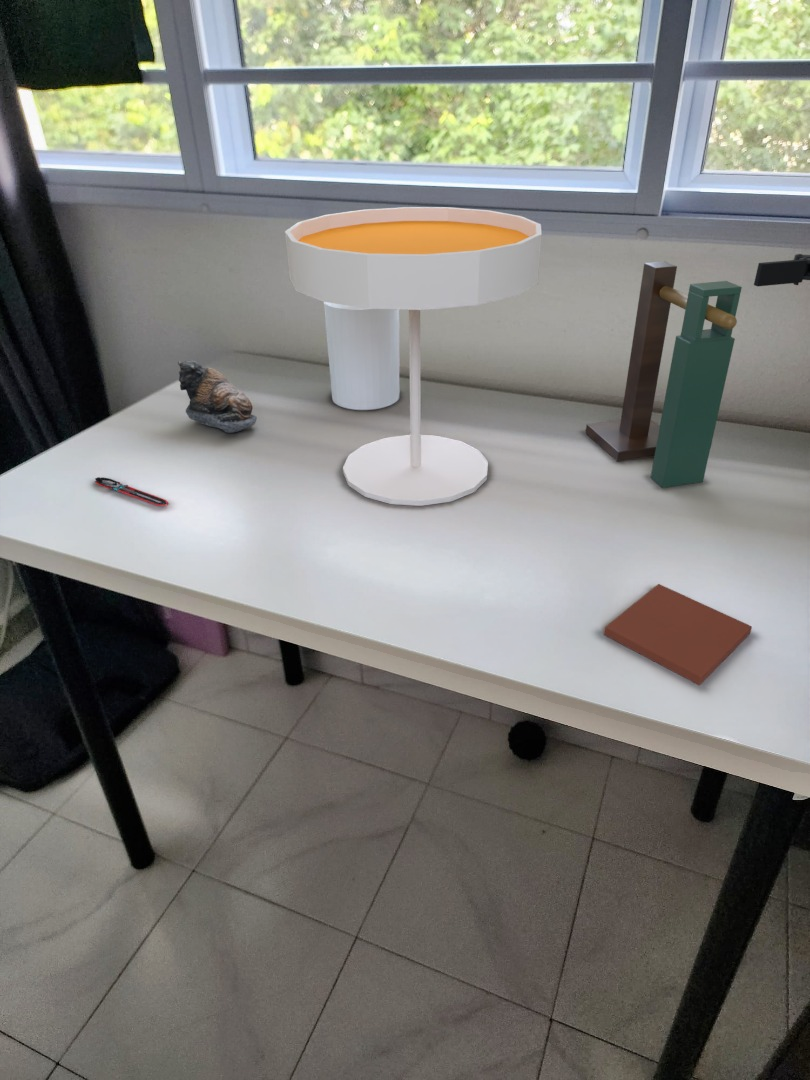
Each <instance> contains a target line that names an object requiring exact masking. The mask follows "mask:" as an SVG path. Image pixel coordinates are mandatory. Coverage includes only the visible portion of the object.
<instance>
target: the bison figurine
mask: <svg viewBox="0 0 810 1080" xmlns="http://www.w3.org/2000/svg"><path fill="white" fill-rule="evenodd" d="M177 365H178V367H179V371H178V374H179V376H178V381H179V383H180V384H179V388H180V389H179V390H181V391H186V394H187V396H188V399H189V404H188V405H187V407H186V408H185V413H186V415H187V416H188V417H187V418H189V419H190V420H191V421H194V422H196V423H199V424H202V425H205V426H208V427H211V428H216V429H221V430H222V431H223V432H225V433H228V434H231V433H238V432H240V431H244V430H246V429H248V428H250V427H252V426H254V425H255V424H256V422H257V419H258V418H257V416H256V415H254V414H252V413H253V408H254V407H253V404H252V402H251V400H250V398H249V397H248V396H247V395H246V393H244V392H243V391H241V390H239V389H238V388H237V387H236V386H235V385H234V384H233V383H231V382H230V381H229V379H228V378H227V377H226V376H225V375H224V374H223V373H221V372H220V371H218V370H217V369H214V368H213V367H211V366H210V367H209V366H208V367H203V366H202V364H201V363H200V362H198V361H196V360H192V359H187V360H184V361H182V362H181V361H180V360H177Z"/></svg>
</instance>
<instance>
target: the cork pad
mask: <svg viewBox="0 0 810 1080" xmlns="http://www.w3.org/2000/svg"><path fill="white" fill-rule="evenodd" d="M752 629H753V626H752V625H750V624H748V623H745V622H743V621H741V620H739V619H737V618H735V617H732V616H730V615H728V614H725V613H723V612H721V611H719V610H717V609H715V608H713V607H710V606H708V605H706V604H704V603H702V602H699V601H697V600H695V599H693V598H691V597H688V596H686V595H684V594H682V593H679V592H677V591H676V590H673V589H671V588H669V587H666V586H665V585H662V584H660V583H658V584H657V585H655V586H654V587H653V588H651V589H650V590H649V591H648V592H647V593H645V594H644V595H643V596H642V597H640V598H639V599H638V600H637V601H635V602H634V603H633V604H632V605H630V606H629V607H628V608H626V609H625V610H624V611H623V612H621V614H618V615H617V617H616V618H614V619H613V620H612V621H611V622H609V623H608V624H606V626H605V627H604V632H603V635H604V636H605V637H607V638H609V639H611V640H613V641H614V642H617V643H619V644H621V645H622V646H624V647H626V648H628V649H630V650H632V651H634V652H636V653H637V654H640V655H641V656H643V657H645V658H647V659H649V660H651V661H652V662H654V663H656V664H658V665H660V666H662V667H664V668H666V669H668V670H670V671H672V672H673V673H675V674H677V675H679V676H681V677H683V678H685V679H687V680H688V681H690V682H693V684H696V685H698V686H700V685H702V684H703V683H704V681H706V679H708V678H709V677H710V675H711V674H713V672H715V670H716V669H717V668H719V666H720V665H721V664H722V663H724V662H725V660H727V658H728V657H729V656H730V655H731V654H732V653H734V651H735V650H736V649H737V648H738V647H739V646H740V645H741V644H742V643H743V642H744V641H745V640H746V639H747V638H748V637H749V636H750V634H751V632H752Z"/></svg>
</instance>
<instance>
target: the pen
mask: <svg viewBox="0 0 810 1080" xmlns="http://www.w3.org/2000/svg"><path fill="white" fill-rule="evenodd" d="M94 480H95V481H94V483H96V485H98V486H100V487H102V488H106V489H109V490H114V491H116V493H122V494H125V495H127V496H130V497H133V498H135V499H138V500H141V501H144V502H146V503H149V504H152V505H154V506H158V507H159V506H160V507H164V506H168V505H169V501H167V499H165V498H163V497H159V496H157V495H154V494H151V493H148V492H146V491H142V490H140V489H137V488H134V487H132V486H129V485H128V484H123V483H121V482H120V481H117V480H115V479H112V478H108V477H100V476H99V477H96V478H94Z"/></svg>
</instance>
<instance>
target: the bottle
mask: <svg viewBox="0 0 810 1080" xmlns="http://www.w3.org/2000/svg"><path fill="white" fill-rule="evenodd" d="M323 311H324V312H323V313H324V323H325V333H326V345H327V354H328V355H327V356H328V357H327V358H328V364H329V365H328V367H329V379H330V390H331V398H332V402H333V403H334V404H335V405H337V406H338V407H341V408H344V409H348V410H356V411H369V410H370V411H371V410H372V411H373V410H378V409H379V410H380V409H383V408H386V407H389V406H392V405H393V404H395V403H397V402H398V401H399V399H400V309H368V308H361V307H355V306H348V305H341V304H335V303H328V302H323Z"/></svg>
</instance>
